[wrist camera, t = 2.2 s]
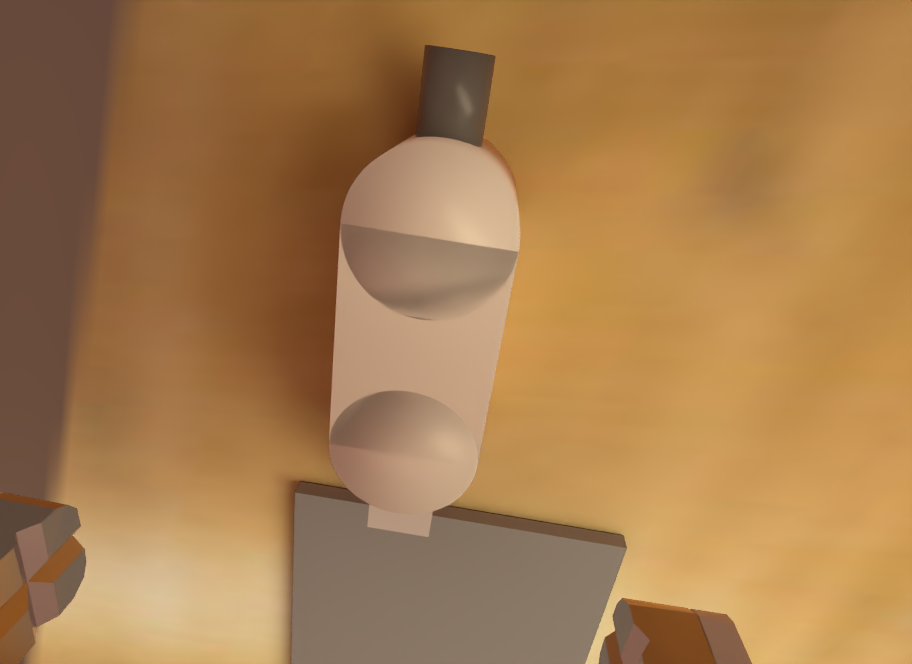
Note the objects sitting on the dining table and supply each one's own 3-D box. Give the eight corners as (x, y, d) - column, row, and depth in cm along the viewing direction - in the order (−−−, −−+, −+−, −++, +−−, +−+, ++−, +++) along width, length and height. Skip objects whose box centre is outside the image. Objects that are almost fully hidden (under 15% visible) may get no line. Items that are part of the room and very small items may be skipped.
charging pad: (300, 481, 21) (294, 492, 20) (623, 535, 20) (626, 548, 20) (294, 686, 26) (290, 699, 25) (554, 731, 26) (555, 746, 25)
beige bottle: (389, 42, 14) (350, 30, 11) (543, 65, 14) (554, 62, 11) (355, 472, 20) (322, 557, 17) (464, 490, 20) (455, 580, 17)
